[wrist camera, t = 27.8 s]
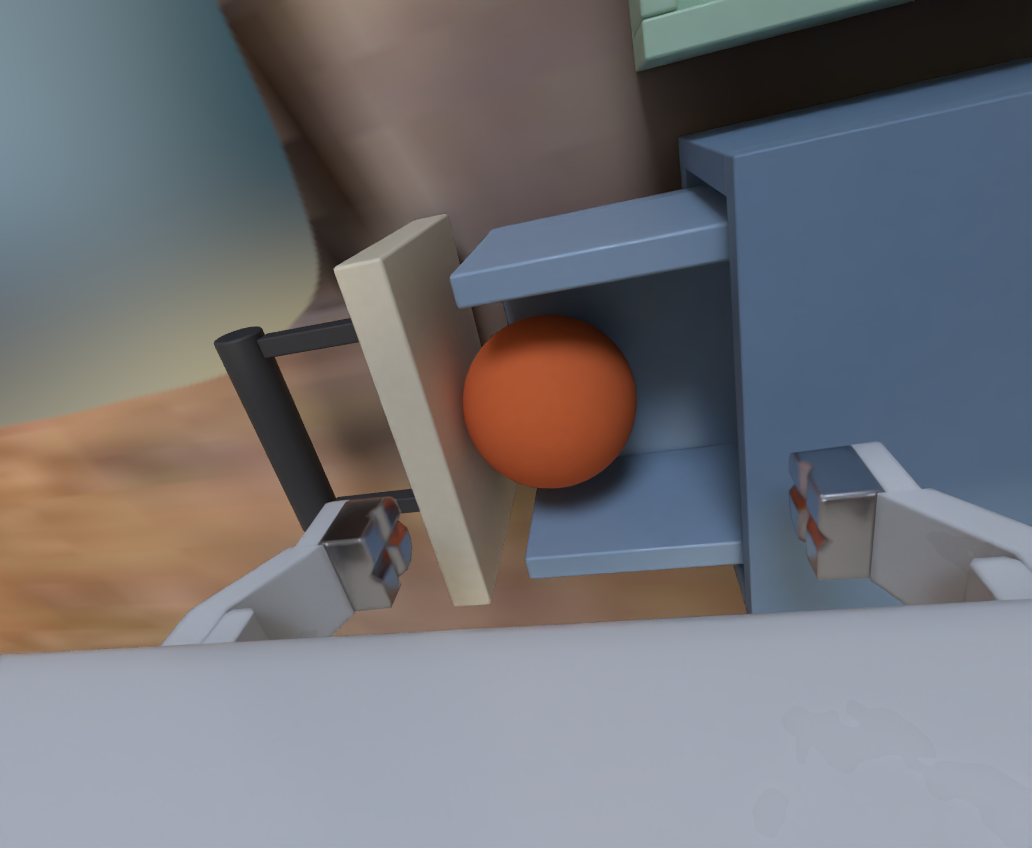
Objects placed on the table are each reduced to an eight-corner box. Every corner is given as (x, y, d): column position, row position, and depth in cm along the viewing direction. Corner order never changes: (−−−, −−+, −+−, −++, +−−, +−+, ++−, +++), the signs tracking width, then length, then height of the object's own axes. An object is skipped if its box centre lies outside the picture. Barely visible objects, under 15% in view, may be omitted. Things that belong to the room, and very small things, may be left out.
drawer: (358, 502, 24) (287, 618, 19) (255, 254, 19) (120, 311, 14) (828, 451, 20) (913, 579, 15) (840, 126, 16) (971, 135, 10)
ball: (512, 292, 19) (404, 352, 15) (656, 288, 16) (560, 361, 12) (542, 425, 21) (453, 504, 18) (673, 444, 18) (595, 542, 15)
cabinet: (703, 465, 22) (752, 631, 15) (677, 137, 17) (732, 155, 10) (1124, 419, 19) (1429, 598, 12) (1248, 6, 14) (1903, -99, 7)
